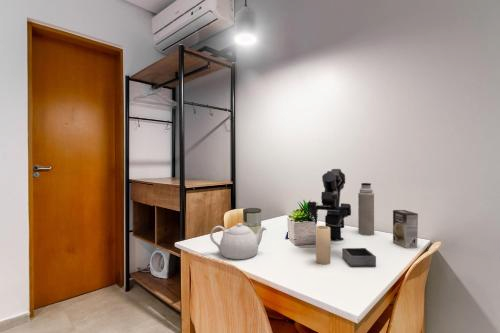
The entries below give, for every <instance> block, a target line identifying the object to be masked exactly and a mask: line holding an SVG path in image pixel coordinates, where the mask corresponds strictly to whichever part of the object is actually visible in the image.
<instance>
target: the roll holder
mask: <svg viewBox="0 0 500 333" xmlns="http://www.w3.org/2000/svg"><path fill="white" fill-rule="evenodd" d="M341 250H342V253H341V254H342V256H341V257H342V259H343V260H344V261H345V263H346V264H348V265H349V267H350V268H373V267H374V268H377V267H376V266H377V256H376V255H375V254H374V253H372V252H371V251H370V250H368V249H367V248H365V247H358V248H356V247H350V248H349V247H348V248H347V247H345V248H341Z"/></svg>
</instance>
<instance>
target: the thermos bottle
mask: <svg viewBox="0 0 500 333" xmlns="http://www.w3.org/2000/svg"><path fill="white" fill-rule="evenodd" d="M371 185H372V183H370V182H362V183H361V186H360V187H361V188H359V192H358V193H357V194H358V197H357V198H358V202H357V204H358V211H357V212H358V217H357V218H358V221H357V222H358V225H357V226H358V229H357V230H358V234H359V235H362V236H374V235H375V193H374V192H373V191H374V190H373V188H372V186H371Z"/></svg>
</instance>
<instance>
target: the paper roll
mask: <svg viewBox="0 0 500 333" xmlns="http://www.w3.org/2000/svg"><path fill="white" fill-rule="evenodd" d="M315 257H316V258H315V262H316V263H317V264H319V265H330V264H331V261H332V260H331V239H330V227H328V226H326V225H317V226H316V227H315Z"/></svg>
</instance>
